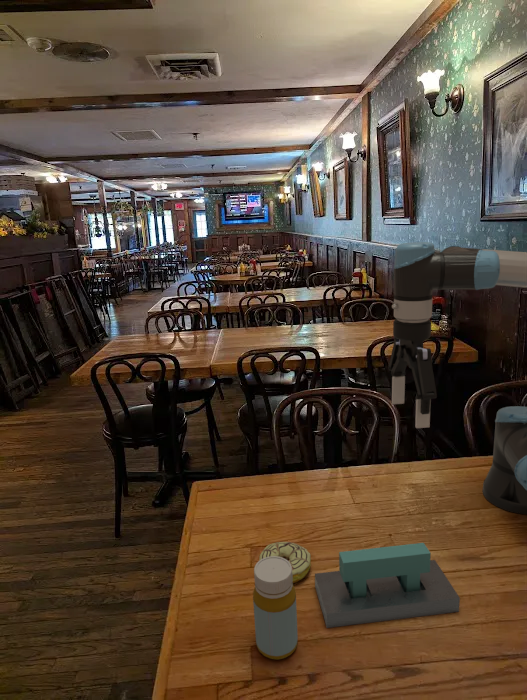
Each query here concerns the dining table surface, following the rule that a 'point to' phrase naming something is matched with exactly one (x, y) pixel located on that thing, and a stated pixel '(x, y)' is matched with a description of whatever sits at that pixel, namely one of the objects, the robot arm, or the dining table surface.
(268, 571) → the bottle
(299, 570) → the decorated donut
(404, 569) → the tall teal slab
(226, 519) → the dining table surface
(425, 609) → the slotted metal plate
